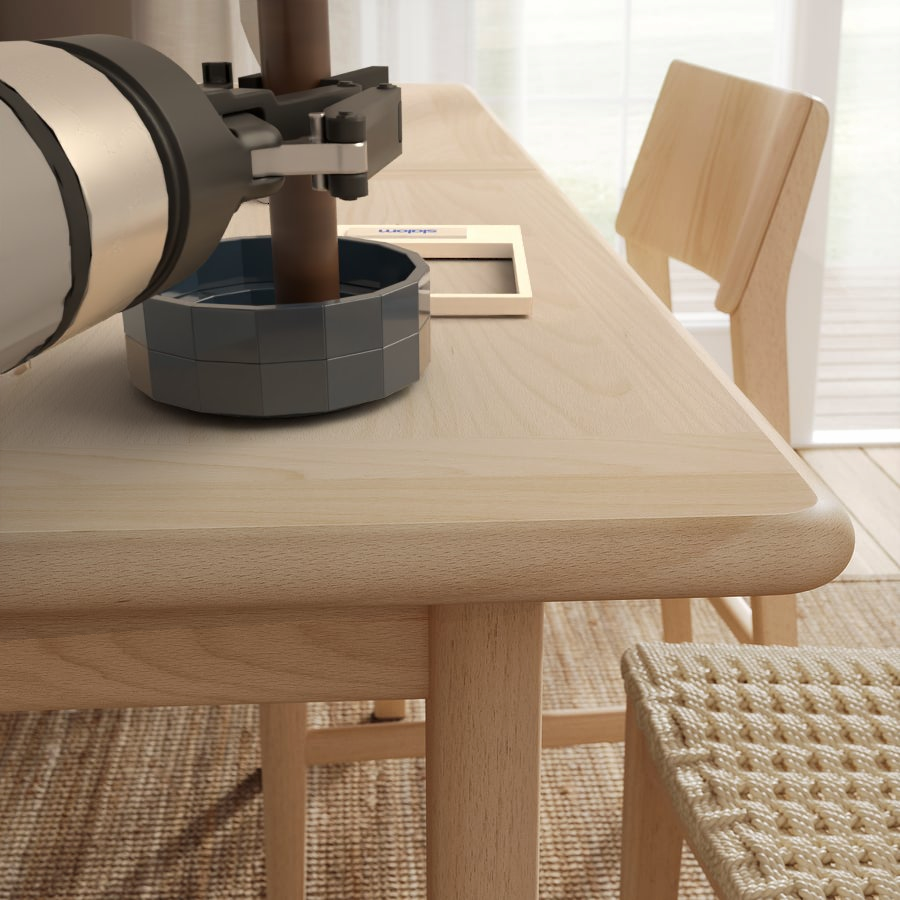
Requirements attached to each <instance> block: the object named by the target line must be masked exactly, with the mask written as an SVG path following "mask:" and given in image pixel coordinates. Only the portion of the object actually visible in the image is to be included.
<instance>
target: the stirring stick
mask: <svg viewBox="0 0 900 900" xmlns="http://www.w3.org/2000/svg"><path fill="white" fill-rule="evenodd" d="M256 2H257V18H258V34H259V50H260V66H261V68H260V73H261V83H262V89H269V90H271V91H272V92H273V93H274V95H275V96H279V95H284V94H289V93H294V92H300V91H305V90H310V89H315V88H320V87H321V85H320V79H324V78H328V77H331V76H332V59H331V57H332V56H331V33H330V32H331V31H330V9H329V0H256ZM260 66H259V67H260ZM268 209H269V226H270V227H269V228H270V235H271V244H272V260H273V277H274V293H275V305H281V304H298V303H315V302H324V301H329V300H335V299H340V283H339V258H338V233H337V225H338V214H337V213H338V211H337V198H336V197H332V196H331V195H330V194H329V192H328V191H314V190H313V189H312V180H311V174H308V175H285V181H284V184H283V186H282V187H281V189H280V190H279V191H278V192H277V193H275V194H273V195H271V196H269V204H268Z"/></svg>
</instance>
